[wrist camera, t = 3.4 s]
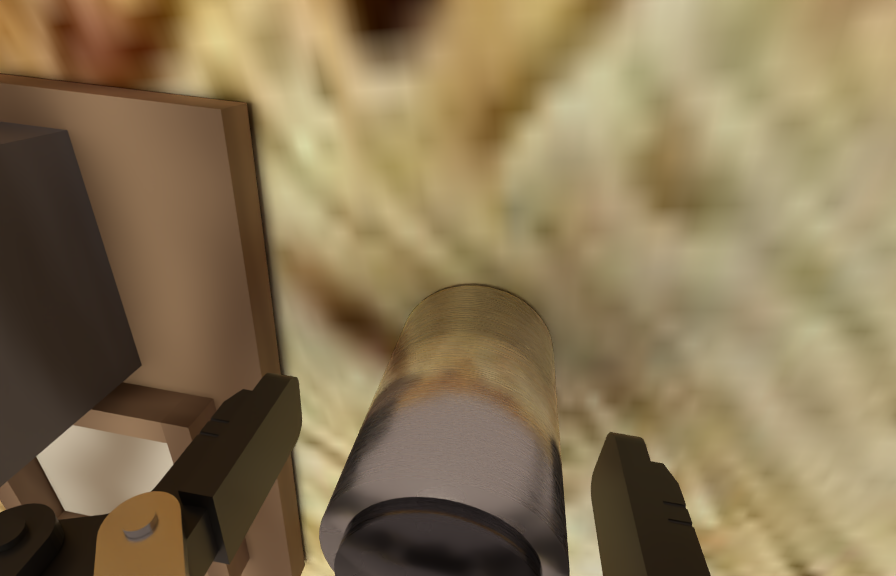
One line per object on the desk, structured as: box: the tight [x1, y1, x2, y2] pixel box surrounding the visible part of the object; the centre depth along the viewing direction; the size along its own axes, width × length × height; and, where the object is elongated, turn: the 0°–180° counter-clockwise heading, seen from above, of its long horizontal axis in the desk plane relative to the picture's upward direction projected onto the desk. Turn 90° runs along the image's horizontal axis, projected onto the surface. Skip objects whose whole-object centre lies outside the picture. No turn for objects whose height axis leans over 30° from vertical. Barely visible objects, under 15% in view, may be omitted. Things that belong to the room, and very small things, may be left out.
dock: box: [0, 74, 305, 576], centre depth 14 cm, size 14×22×9 cm, turn 175°
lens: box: [319, 285, 570, 576], centre depth 12 cm, size 5×5×8 cm
